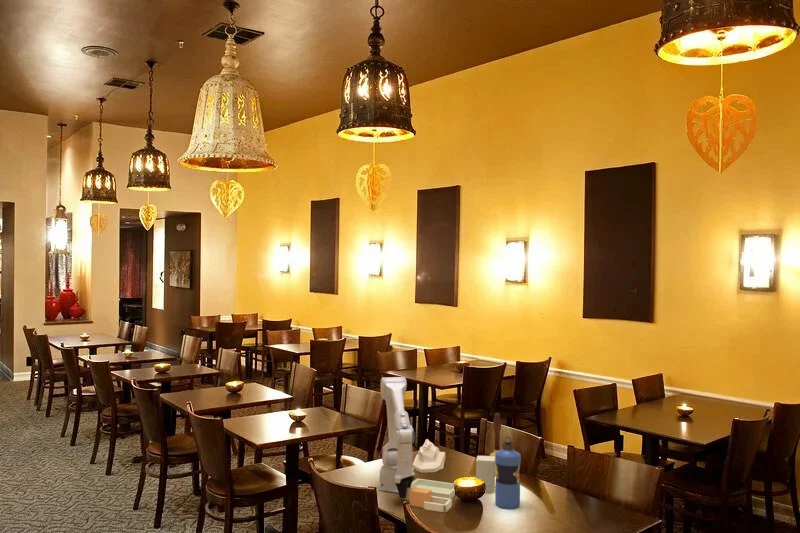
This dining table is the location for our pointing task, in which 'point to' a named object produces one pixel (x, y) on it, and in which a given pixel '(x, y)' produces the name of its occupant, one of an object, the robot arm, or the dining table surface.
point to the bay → (438, 504)
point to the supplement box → (486, 471)
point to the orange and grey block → (418, 496)
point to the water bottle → (507, 476)
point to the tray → (436, 487)
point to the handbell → (496, 435)
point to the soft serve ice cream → (429, 458)
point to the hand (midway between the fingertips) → (404, 496)
